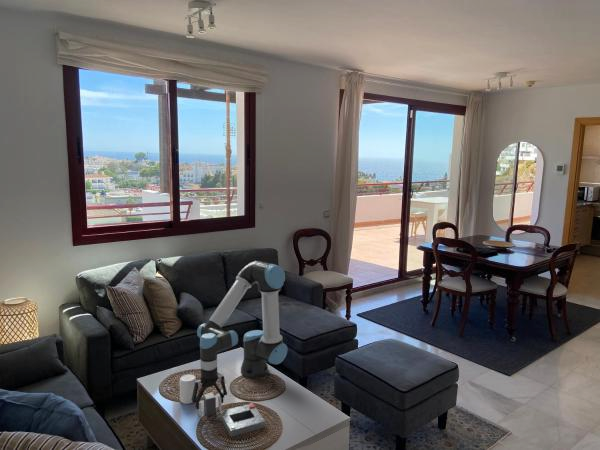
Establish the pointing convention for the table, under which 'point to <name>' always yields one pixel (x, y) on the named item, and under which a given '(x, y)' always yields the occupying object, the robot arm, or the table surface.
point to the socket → (242, 419)
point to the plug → (209, 404)
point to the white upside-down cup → (186, 388)
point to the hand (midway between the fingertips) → (209, 411)
